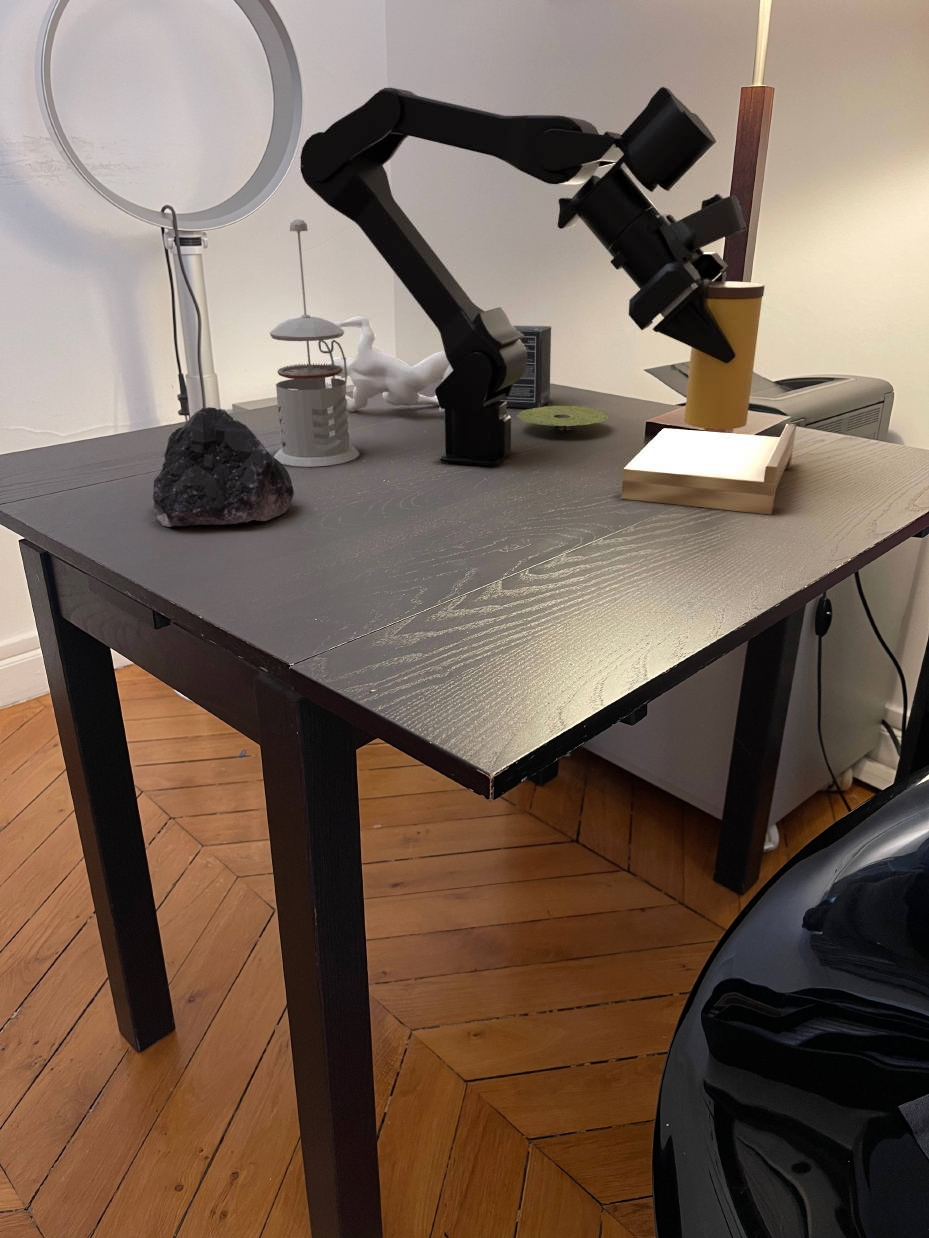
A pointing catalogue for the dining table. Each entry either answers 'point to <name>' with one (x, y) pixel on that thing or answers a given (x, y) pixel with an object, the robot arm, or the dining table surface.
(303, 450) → the french press
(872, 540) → the dining table surface
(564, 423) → the green disc
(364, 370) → the white curved figure
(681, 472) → the oak shelf
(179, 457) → the crystal cluster
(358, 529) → the dining table surface
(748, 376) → the tea tin
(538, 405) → the small box
